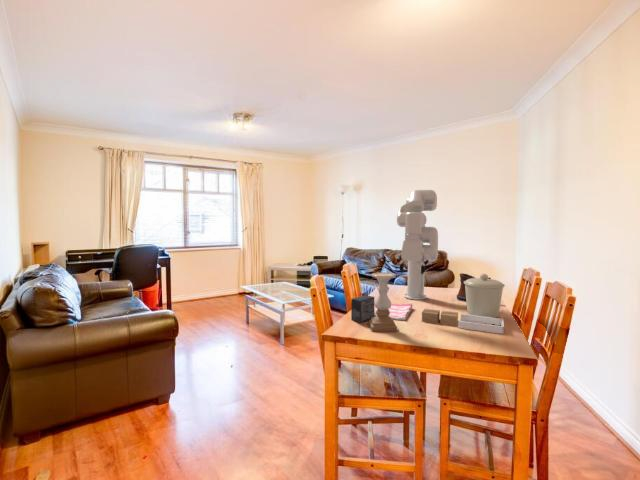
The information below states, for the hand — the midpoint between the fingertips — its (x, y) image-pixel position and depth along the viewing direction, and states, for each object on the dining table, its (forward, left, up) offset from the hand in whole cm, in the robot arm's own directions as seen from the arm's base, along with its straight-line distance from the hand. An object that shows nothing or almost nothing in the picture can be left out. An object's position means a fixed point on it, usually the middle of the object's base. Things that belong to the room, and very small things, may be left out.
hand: (412, 273), depth 170 cm
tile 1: (+2, +9, -22) cm, 24 cm away
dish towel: (-3, -10, -22) cm, 24 cm away
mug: (-48, +25, -22) cm, 58 cm away
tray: (+1, +31, -21) cm, 37 cm away
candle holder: (+22, -8, -22) cm, 32 cm away
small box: (+14, -20, -22) cm, 33 cm away
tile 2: (+1, +18, -22) cm, 28 cm away
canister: (-16, +31, -22) cm, 41 cm away
